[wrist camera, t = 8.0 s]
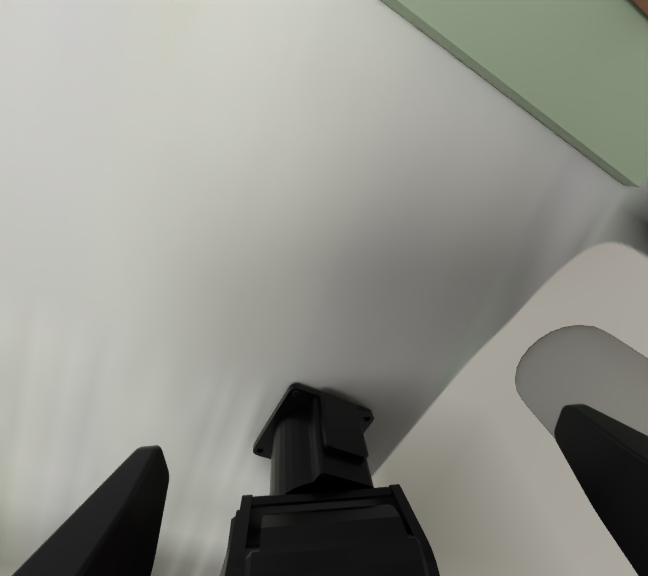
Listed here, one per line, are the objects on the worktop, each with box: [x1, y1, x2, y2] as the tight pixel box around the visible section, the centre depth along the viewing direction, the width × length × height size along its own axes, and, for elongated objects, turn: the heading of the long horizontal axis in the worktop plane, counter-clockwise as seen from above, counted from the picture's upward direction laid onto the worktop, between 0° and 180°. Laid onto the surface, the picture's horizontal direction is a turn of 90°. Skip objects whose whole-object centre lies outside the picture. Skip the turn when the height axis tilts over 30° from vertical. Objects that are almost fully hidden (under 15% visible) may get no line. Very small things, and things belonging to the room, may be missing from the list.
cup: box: [515, 325, 648, 438], centre depth 22 cm, size 7×10×9 cm
